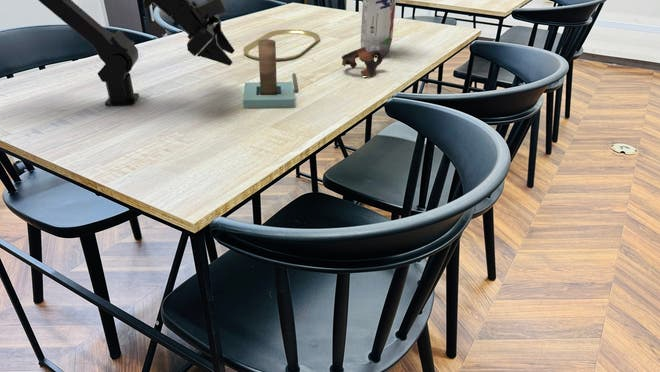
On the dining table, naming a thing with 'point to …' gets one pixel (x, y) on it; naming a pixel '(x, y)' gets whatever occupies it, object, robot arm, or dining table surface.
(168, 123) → the dining table surface
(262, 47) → the dowel
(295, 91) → the grey thin rod
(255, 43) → the gold oval loop
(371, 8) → the juice carton
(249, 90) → the square ring
